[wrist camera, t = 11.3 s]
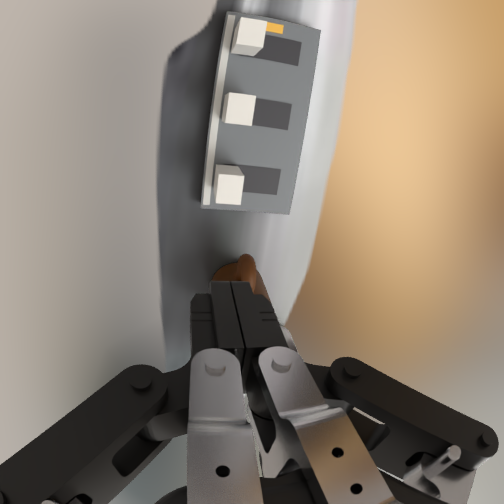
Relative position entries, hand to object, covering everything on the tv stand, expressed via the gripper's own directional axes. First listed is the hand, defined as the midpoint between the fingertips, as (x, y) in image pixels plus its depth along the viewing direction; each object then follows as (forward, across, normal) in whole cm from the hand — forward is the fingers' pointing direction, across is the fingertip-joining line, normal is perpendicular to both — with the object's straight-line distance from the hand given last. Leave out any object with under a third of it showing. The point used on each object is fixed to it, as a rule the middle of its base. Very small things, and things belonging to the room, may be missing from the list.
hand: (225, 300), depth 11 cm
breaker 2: (+23, -2, -8) cm, 24 cm away
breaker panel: (+25, -5, -8) cm, 27 cm away
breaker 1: (+23, -2, -16) cm, 28 cm away
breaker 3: (+23, -2, 0) cm, 23 cm away
